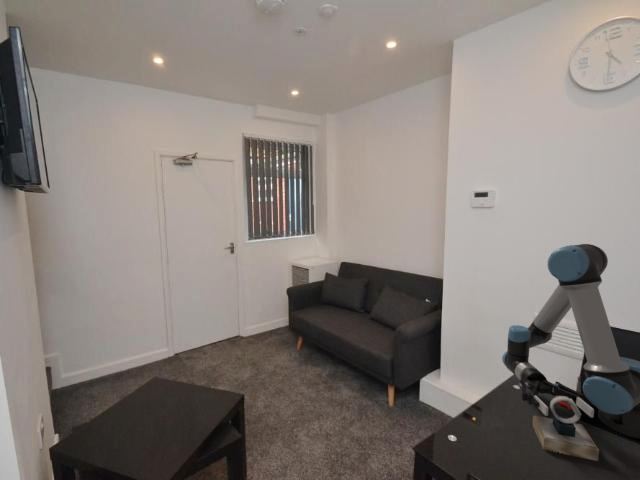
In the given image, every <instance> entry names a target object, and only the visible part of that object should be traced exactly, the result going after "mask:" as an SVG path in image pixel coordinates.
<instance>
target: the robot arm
mask: <svg viewBox="0 0 640 480" xmlns="http://www.w3.org/2000/svg"><path fill="white" fill-rule="evenodd" d="M608 261H609V260H608V255H607V253H606V252H605V251H604V249H602V248H601V247H599V246H596V245H594V244H589V243H581V244H573V245H572V244H571V245H566V246H562V247H559V248H556V250H553V252H552V253H551V254H550V255H549V257H548V259H547V269H548V271H549V273H550V274H551V276H552V277H554V278H555V279H557V282H558V285H557V286H556V289H554V290H553V292H552V294H551V295H550V297H549V298H548V299H547V301H546V302H545V304H544V305H543V306H542V308H541V309H540V311H539V312H538V314H537V315H536V317H535V318H534V320H533V321H532V322H531V323H530V324H529V326H528V327H526V326H523V325H518V324H517V325H515V324H514V325H511V326H510V327H509V328H508V333H507V351H505V352H504V353H503V355H502V356H501V357H502V358H501V359H502V363H503V364H504V366H505V367H506V368H507V370H509V372H511V373H512V374H513V375H514V376H515V377H516V378H517V379H518V380H519V384H518V385H519V389H520V390H521V400H522V401H523V402H526V401H528V404H529V405H533V406H534V407H536V408H537V409H539V410H540V411H541V413H542V414H543V415H544V416H549V406H547V404H545V403H544V402H543V401H542V400H541V399H540V398H539V397H538V394H539V393H540V394H547V395H551V396H554V397H556V396H566V397H568V398H569V399H570V398H571V399H572V400H573V401H574V402H575V403H576V405H577V406H578V407H579V408H580V409H582V410H581V411H583V412H584V413H585V414H586V415H587V416H588V417H590V418H594V416H595V415H594V414H595V409H594V408H593V407H592V406H590V404H589V403H591V404H592V405H593V406H595V407H596V408H597V409H598V412H597V413H598V414H597V415H598V417H597V418H598V419H599V421H600V422H602V423H603V424H604V425H605V426H606V427H608V428H609V429H612V430H613V431H616V432H618V433H619V434H622V435H623V436H628V437H630V438H634V439H638V440H640V361H639V360H636V359H633V358H628V357H623V356H620V354H619V350H618V347H617V345H616V341H615V337H614V335H613V331H612V328H611V325H610V322H609V318H608V315H607V311H606V308H605V305H604V302H603V299H602V296H601V293H600V289H599V286H600V285H601V284H602V283H603V280H602V277H601V275H602V274H603V273H604V272H605V270H606V269H607V267H608ZM571 309H572V314H573V318H574V320H575V323H576V326H577V331H578V334H579V339H580V341H581V344H582V347H583V351H584V354H585V355H584V356H585V357H586V360H587V361H586V363H585V364H584V365H582V366H583V370H584V371H583V372H584V375H585V377H586V379H585V380H584V382H583V385H582V391H583V393H582V392H580V393H579V392H577V391H576V390H575V389H573V388H570V387H568V386H566V385H564V384H562V383H561V382H559V381H555V383H552V382H551V381H548V379H547V378H546V376H545V375H544V374H543V373H542V372H541V371H540V370H539V369H537V367H536V366H534V365H533V364H532V363H530V362H529V358H530V357H529V356H530V349H531V348H534V347H537V346H540V345H543V344H546V343H548V342H550V340H551V339H552V338H553V332H554V331H555V330H556V328H557V327H558V325H559V324H560V323H561V322H562V320H563V319H564V317H566V315H567V313H568V312H569V311H570V310H571ZM527 389H528V390H529V394H527ZM586 399H587V400H588V402H589V403H588V402H587V400H586Z"/></svg>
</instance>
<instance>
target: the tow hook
mask: <svg viewBox="0 0 640 480" xmlns="http://www.w3.org/2000/svg"><path fill="white" fill-rule="evenodd" d="M581 383H582V382H581V376H577V381H576V390H575V391H577V392H579V393H581V385H582V384H581ZM555 397H558V396H557V395H556V396H555ZM574 403H575V402H574ZM556 404H559V405H560V406H563V407H564V408H565V407H566V408H567V410H568V411H573V410H572V408H571V407H570V405H569V403H566V402H564V401H559V402H557V403H556ZM575 404H576V403H575ZM576 406H577V405H576ZM577 407H578V406H577ZM578 409H579V411H580V412H581V411H583V410H582V409H580V408H579V407H578Z"/></svg>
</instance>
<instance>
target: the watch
mask: <svg viewBox="0 0 640 480" xmlns="http://www.w3.org/2000/svg"><path fill="white" fill-rule="evenodd" d="M559 401H562V402H564V401H565V402H567V404H569V405H570V407H571V408H572V410H571V411H573V413H574V415H573V416H572V417H568V416H563V415H558V414H557V413H556V410H555V404H558V403H557V402H559ZM549 408H550V410H551V412H552V414H553V415H552V419H553V425H554V427H555V429H556V431H557V432H558V434H560V435H565V436H570V437H575V430H576V428H575V426H574V425H573V423H578V421H580V419H581V416H582V413H581V411H579V409H578V407H577V406H576V404H575V403H574V401H573V400H572V399H571V398H570V399H569V398H568V397H566V396H558V397H556V396H554V397H553V398H552V399H551V400H550V403H549Z"/></svg>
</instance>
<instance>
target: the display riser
mask: <svg viewBox="0 0 640 480" xmlns="http://www.w3.org/2000/svg"><path fill="white" fill-rule="evenodd" d="M573 425H574V426H575V428H576V430H575V437H570V436H565V435H560V434H558V432H557V431H556V429H555V427H554V425H553V418H549V417H544V416H538V415H533V416H532V427H533V430H534V429H535V430H534V431H535V434H536V436H537V438H538V441H539V443H540V445H541V448H542V450H544V451H548V450H549V451H548V452H552V451H553V453H557V452H559V453H558V454H562V453H563V455H567V456H571V455H572V457H577V458H581V459H587V460H591V461H596V462H599V458H600V457H599V456H600V449H599V448H598V446H597V445H596V443H595V442H594V441H593V438H591V436H590V434H589V433H588V431H587V430H586V428H585V427H584V426H583V424H581V423H578V422H575V423H573Z"/></svg>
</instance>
